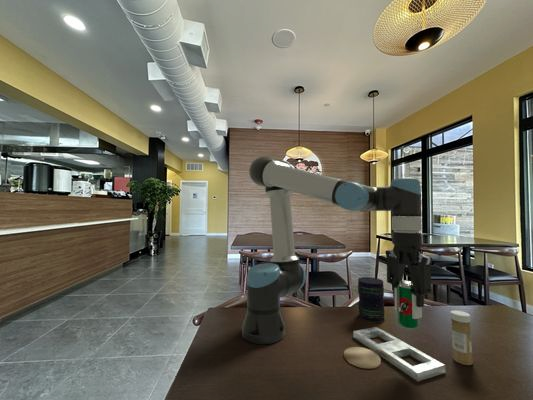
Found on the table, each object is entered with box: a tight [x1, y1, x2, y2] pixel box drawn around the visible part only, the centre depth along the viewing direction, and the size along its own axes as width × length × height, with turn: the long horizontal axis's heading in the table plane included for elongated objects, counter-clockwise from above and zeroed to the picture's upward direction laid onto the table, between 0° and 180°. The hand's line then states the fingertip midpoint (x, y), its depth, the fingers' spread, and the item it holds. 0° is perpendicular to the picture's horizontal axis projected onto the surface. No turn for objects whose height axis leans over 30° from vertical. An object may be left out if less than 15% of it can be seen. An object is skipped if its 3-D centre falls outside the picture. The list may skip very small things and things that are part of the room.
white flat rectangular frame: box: [352, 326, 446, 382], centre depth 75 cm, size 24×10×2 cm, turn 20°
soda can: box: [397, 280, 419, 330], centre depth 70 cm, size 5×5×12 cm
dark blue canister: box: [357, 276, 385, 324], centre depth 101 cm, size 10×10×15 cm
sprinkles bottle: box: [450, 309, 474, 366], centre depth 71 cm, size 5×5×13 cm
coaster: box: [343, 346, 382, 370], centre depth 72 cm, size 10×10×1 cm
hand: (407, 313), depth 70 cm, fingers closed on soda can, 5 cm apart
